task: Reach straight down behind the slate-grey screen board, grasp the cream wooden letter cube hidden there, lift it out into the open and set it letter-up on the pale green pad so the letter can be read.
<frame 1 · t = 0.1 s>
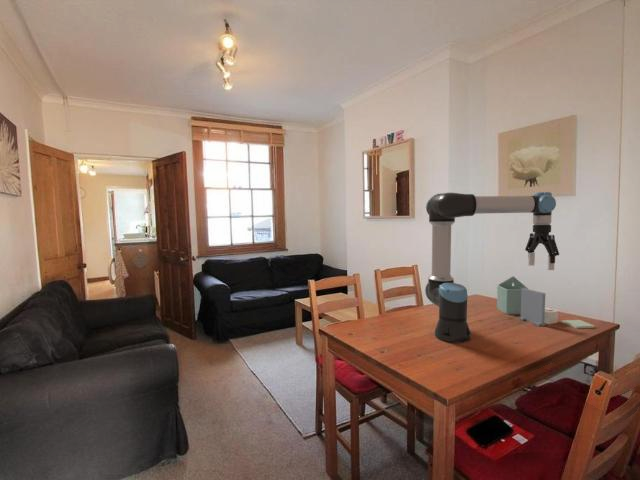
hand: (540, 267, 168), 28 cm above the table, fingers open, 13 cm apart
screen board: (532, 322, 173), on the table
letter cube: (547, 321, 173), on the table
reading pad: (577, 325, 167), on the table
planter: (509, 313, 189), on the table
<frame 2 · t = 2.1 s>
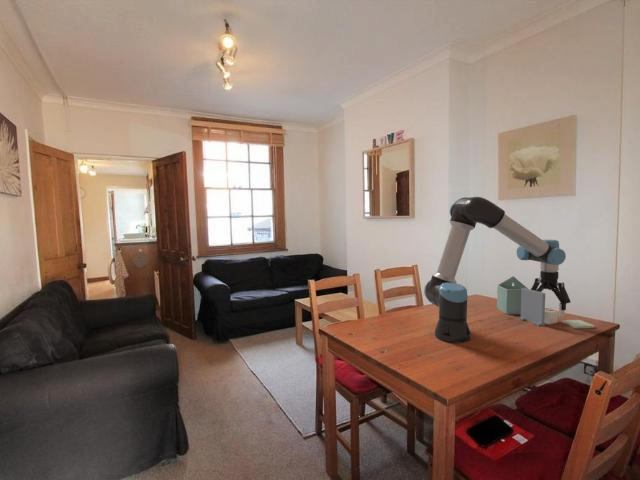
hand: (548, 312, 173), 5 cm above the table, fingers open, 13 cm apart
nothing on the table moved.
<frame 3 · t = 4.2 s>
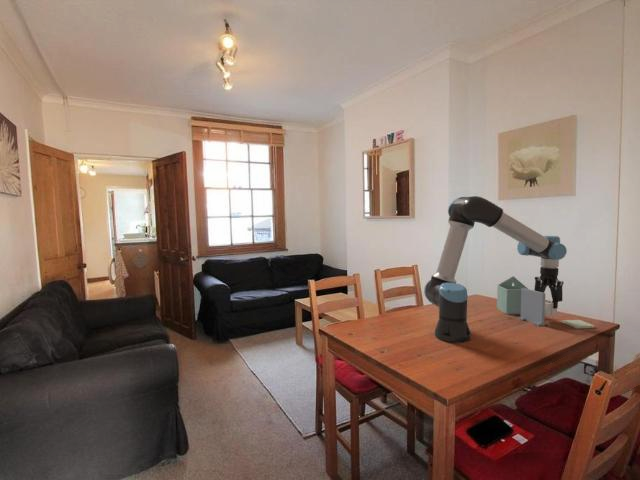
hand: (546, 312, 173), 5 cm above the table, fingers closed on letter cube, 6 cm apart
letter cube: (546, 313, 173), point 4 cm above the table, touching gripper
everything else where it was.
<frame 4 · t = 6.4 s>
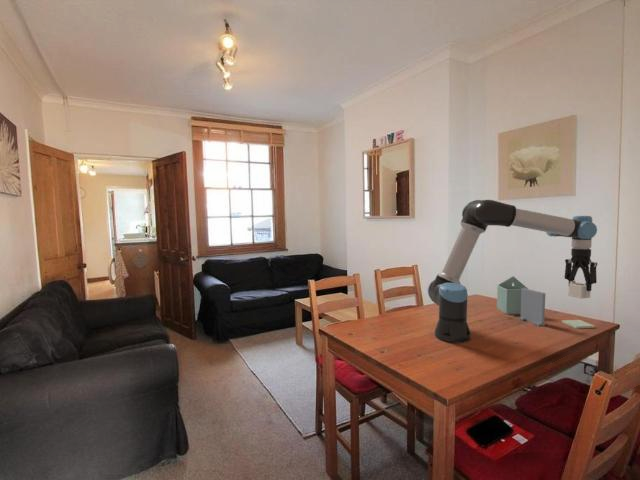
hand: (579, 295, 166), 14 cm above the table, fingers closed on letter cube, 6 cm apart
letter cube: (579, 296, 166), point 14 cm above the table, touching gripper
everything else where it was.
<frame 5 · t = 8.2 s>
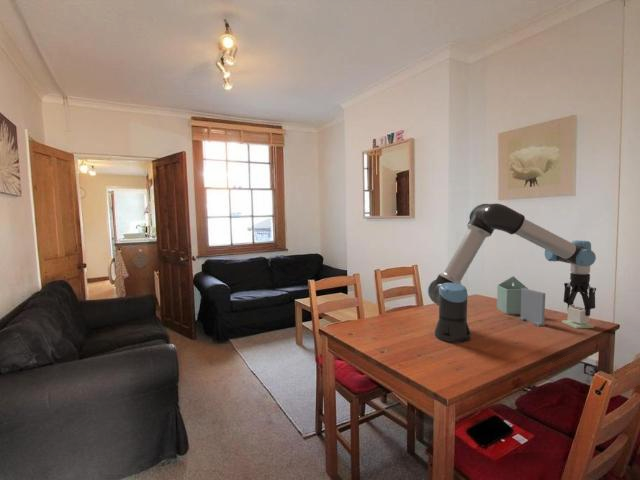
hand: (578, 319, 167), 3 cm above the table, fingers closed on letter cube, 6 cm apart
letter cube: (578, 320, 167), point 2 cm above the table, touching gripper
everything else where it was.
when the fingers open (1 cm above the table, at t = 8.9 s): letter cube stays where it is, resting on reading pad.
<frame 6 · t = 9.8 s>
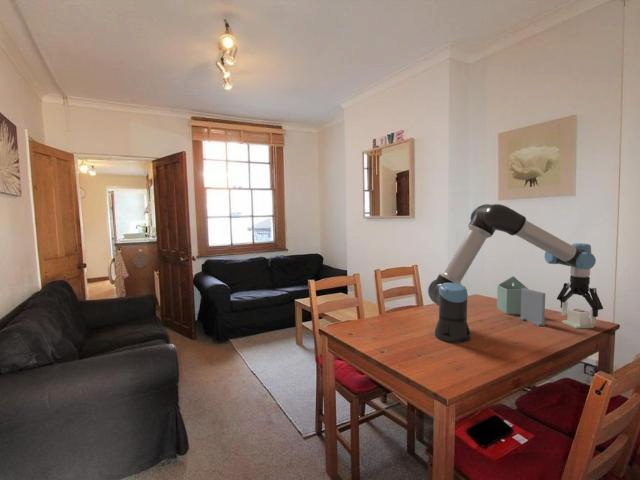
hand: (577, 319, 167), 3 cm above the table, fingers open, 13 cm apart
letter cube: (577, 323, 167), point 1 cm above the table, touching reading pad
everything else where it was.
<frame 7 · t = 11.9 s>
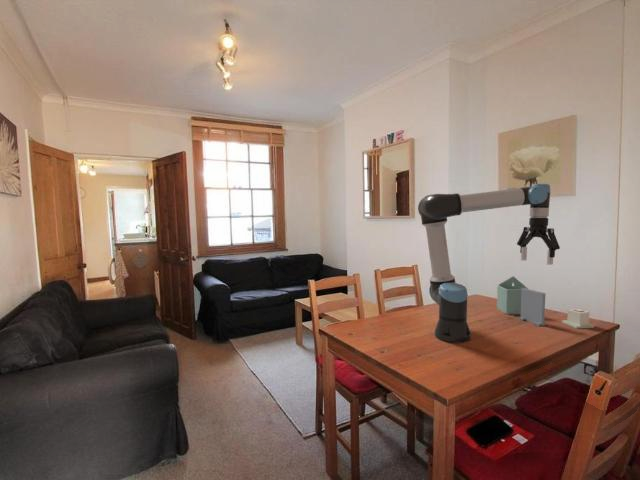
hand: (536, 262, 163), 31 cm above the table, fingers open, 13 cm apart
nothing on the table moved.
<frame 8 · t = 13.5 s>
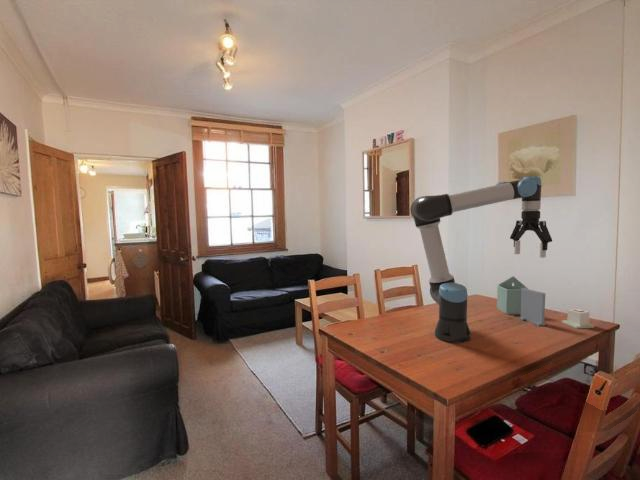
hand: (529, 255, 162), 35 cm above the table, fingers open, 13 cm apart
nothing on the table moved.
at the end: letter cube inside the target area on the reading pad (0.0 cm from its centre), point 1.0 cm above the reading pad's base; letter cube tilted 0°; the gripper is holding nothing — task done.
